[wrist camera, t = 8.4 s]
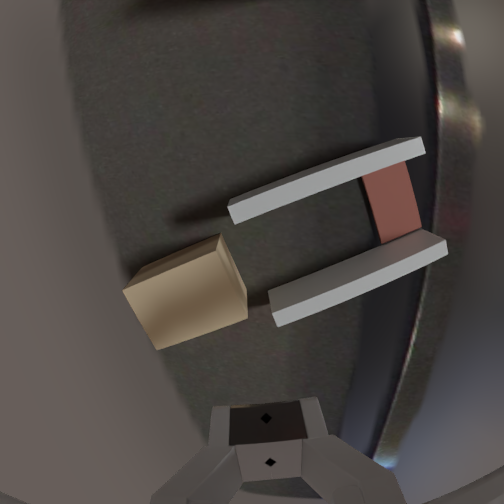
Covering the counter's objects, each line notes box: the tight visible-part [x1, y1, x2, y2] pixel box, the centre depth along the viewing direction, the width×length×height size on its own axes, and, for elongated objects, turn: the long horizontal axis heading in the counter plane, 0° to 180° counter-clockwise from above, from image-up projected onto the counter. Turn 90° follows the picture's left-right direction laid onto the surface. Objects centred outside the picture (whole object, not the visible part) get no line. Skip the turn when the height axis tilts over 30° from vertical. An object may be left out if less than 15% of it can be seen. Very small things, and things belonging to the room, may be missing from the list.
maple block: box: [122, 233, 248, 350], centre depth 23 cm, size 5×7×5 cm
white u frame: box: [227, 137, 448, 327], centre depth 22 cm, size 9×14×4 cm, turn 112°
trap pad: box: [361, 161, 422, 244], centre depth 24 cm, size 6×4×1 cm, turn 22°
